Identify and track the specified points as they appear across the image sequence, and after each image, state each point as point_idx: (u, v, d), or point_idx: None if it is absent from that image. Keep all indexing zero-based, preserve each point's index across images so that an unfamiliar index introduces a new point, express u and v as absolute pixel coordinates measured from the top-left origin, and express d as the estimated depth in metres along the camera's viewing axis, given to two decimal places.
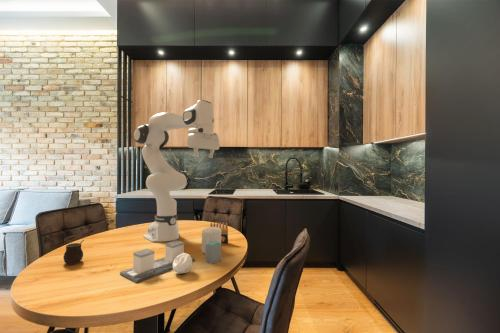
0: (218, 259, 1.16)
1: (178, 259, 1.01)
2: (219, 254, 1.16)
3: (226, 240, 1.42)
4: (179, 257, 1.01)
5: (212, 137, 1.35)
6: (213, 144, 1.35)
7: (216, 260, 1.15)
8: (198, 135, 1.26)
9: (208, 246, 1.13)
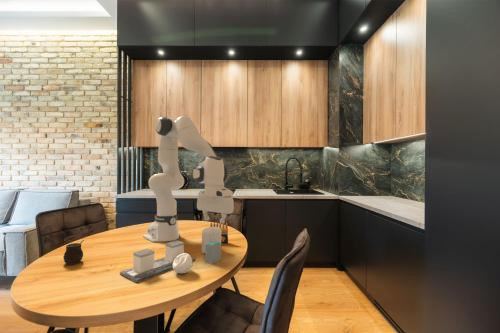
0: (218, 259, 1.16)
1: (178, 259, 1.01)
2: (219, 254, 1.16)
3: (226, 240, 1.42)
4: (179, 257, 1.01)
5: None
6: None
7: (216, 260, 1.15)
8: None
9: (208, 246, 1.13)
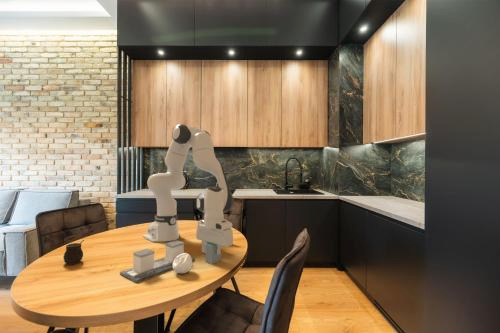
0: (218, 259, 1.16)
1: (178, 259, 1.01)
2: (219, 254, 1.16)
3: None
4: (179, 257, 1.01)
5: None
6: None
7: (216, 260, 1.15)
8: None
9: (208, 246, 1.13)
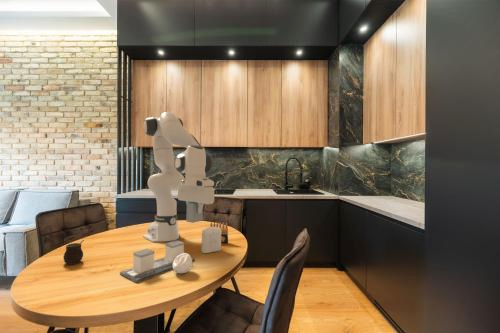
0: (199, 219, 1.13)
1: (178, 259, 1.01)
2: (201, 214, 1.13)
3: (226, 240, 1.42)
4: (179, 257, 1.01)
5: None
6: None
7: (197, 219, 1.12)
8: None
9: (189, 205, 1.11)
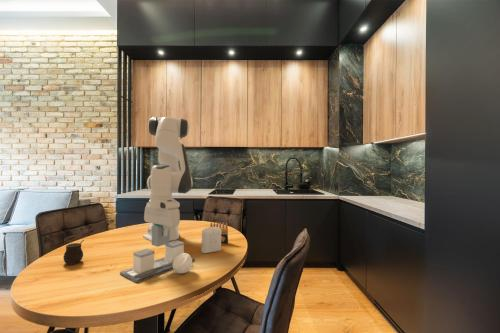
0: (166, 242, 1.08)
1: (178, 259, 1.01)
2: (167, 236, 1.08)
3: (226, 240, 1.42)
4: (179, 257, 1.01)
5: None
6: None
7: (163, 242, 1.07)
8: None
9: (154, 227, 1.06)
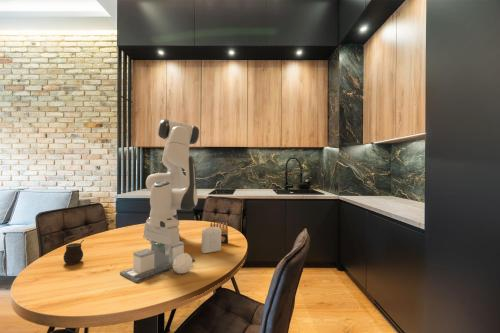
0: (165, 261, 1.08)
1: (178, 259, 1.01)
2: (166, 256, 1.08)
3: (226, 240, 1.42)
4: (179, 257, 1.01)
5: None
6: None
7: (162, 262, 1.07)
8: None
9: (153, 247, 1.06)
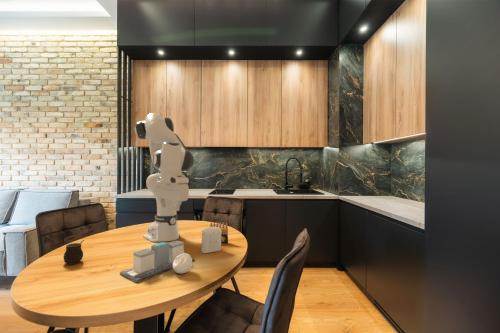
0: (165, 261, 1.08)
1: (178, 259, 1.01)
2: (166, 256, 1.08)
3: (226, 240, 1.42)
4: (179, 257, 1.01)
5: None
6: None
7: (162, 262, 1.07)
8: None
9: (153, 247, 1.06)
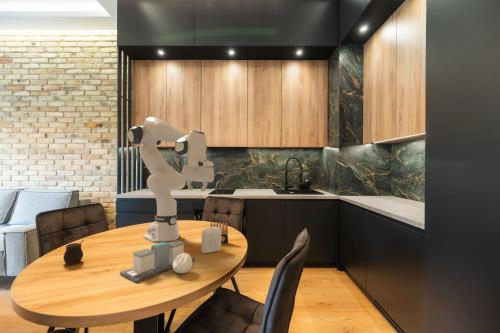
0: (165, 261, 1.08)
1: (178, 259, 1.01)
2: (166, 256, 1.08)
3: (226, 240, 1.42)
4: (179, 257, 1.01)
5: None
6: None
7: (162, 262, 1.07)
8: None
9: (153, 247, 1.06)
